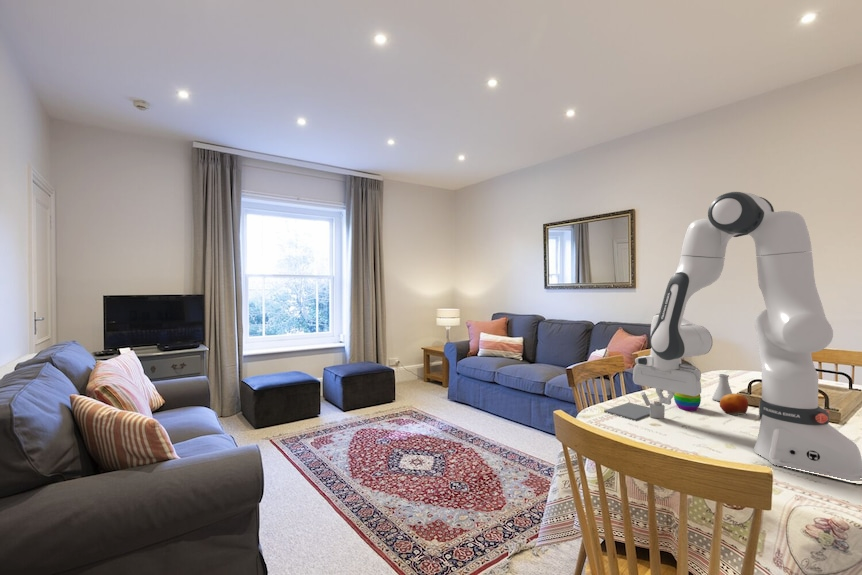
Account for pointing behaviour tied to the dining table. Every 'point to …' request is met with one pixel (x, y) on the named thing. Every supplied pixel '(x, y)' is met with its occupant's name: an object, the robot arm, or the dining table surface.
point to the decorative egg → (687, 401)
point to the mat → (630, 411)
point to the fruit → (734, 404)
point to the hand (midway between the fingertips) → (665, 403)
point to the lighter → (654, 408)
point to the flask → (722, 387)
